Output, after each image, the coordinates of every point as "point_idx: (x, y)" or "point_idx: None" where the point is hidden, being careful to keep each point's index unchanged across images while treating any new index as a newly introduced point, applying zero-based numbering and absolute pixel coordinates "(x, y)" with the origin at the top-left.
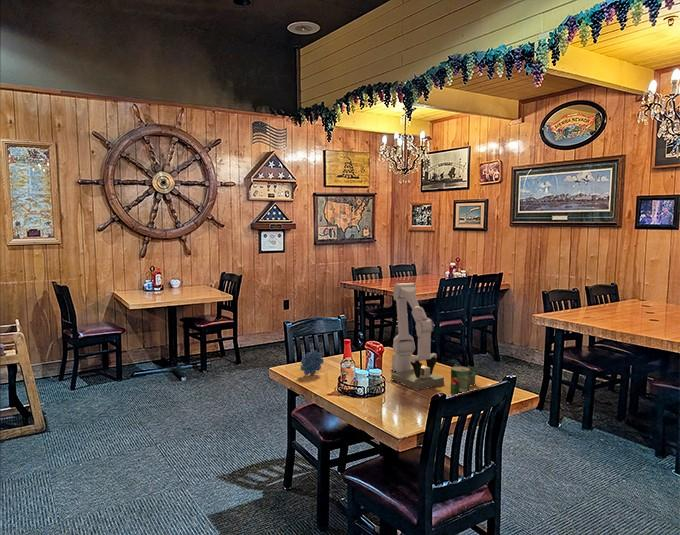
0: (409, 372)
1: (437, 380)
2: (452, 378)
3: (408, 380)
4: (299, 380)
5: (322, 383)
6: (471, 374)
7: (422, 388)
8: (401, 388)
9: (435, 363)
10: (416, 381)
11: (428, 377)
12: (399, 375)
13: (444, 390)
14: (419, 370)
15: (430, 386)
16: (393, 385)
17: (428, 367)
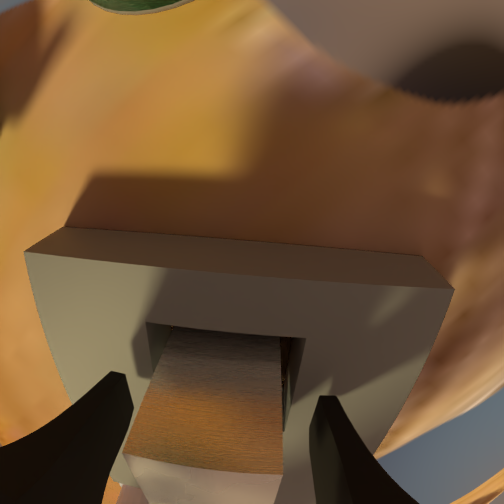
0: None
1: (120, 254)
2: None
3: (398, 407)
4: (489, 499)
5: (496, 482)
6: None
7: (375, 254)
8: (449, 362)
9: (5, 447)
10: (399, 351)
11: (194, 351)
12: None
13: (207, 68)
14: (362, 465)
15: (249, 244)
16: (418, 420)
17: (151, 466)
